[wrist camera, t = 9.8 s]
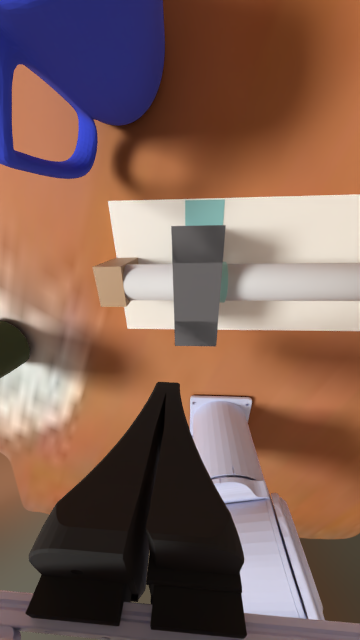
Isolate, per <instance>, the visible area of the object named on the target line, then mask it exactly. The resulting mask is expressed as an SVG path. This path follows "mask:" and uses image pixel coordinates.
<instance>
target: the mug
mask: <svg viewBox="0 0 360 640" xmlns="http://www.w3.org/2000/svg"><path fill="white" fill-rule="evenodd" d="M164 56H165V33H164V14H163V0H0V164H3V165H5V166H8V167H11V168H14V169H18V170H22V171H27V172H31V173H35V174H39V175H44V176H49V177H55V178H64V179H72V178H79V177H82V176H84V175H86V174H87V173H88V172H89V171H90V169H91V168H92V166H93V163H94V160H95V156H96V151H97V130H96V126H95V123H94V120H93V119H95V120H98V121H100V122H103V123H106V124H109V125H116V126H120V125H127V124H130V123H132V122H134V121H136V120H137V119H139V118H140V117H141V116H142V115H143V114H144V113H145V112H146V111H147V110H148V109H149V107H150V106H151V104H152V102H153V100H154V98H155V96H156V94H157V92H158V89H159V85H160V82H161V78H162V73H163V66H164ZM18 64H23V65H25V66H26V67H27V68H29V69H30V70H31V71H33V72H34V73H35V74H36V75H38V76H39V77H40V78H41V79H43V80H44V81H45V82H46V83H47V84H48V85H50V86H51V87H52V88H53V89H54V90H55V91H56V92H57V93H59V94H60V95H61V96H62V97H63V98H64V99H65V100H66V101H67V102H68V103H69V104H70V105H71V106H72V107H73V108H74V109H75V111H76V112H77V115H78V119H79V133H78V141H77V146H76V149H75V151H74V154H73V155H72V156H71V158H70V159H68V160H66V161H63V162H54V161H48V160H43V159H40V158H36V157H33V156H30V155H27V154H24V153H21V152H18V151H15V150H14V149H13V137H12V80H13V72H14V69H15V68H16V66H17V65H18Z"/></svg>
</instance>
